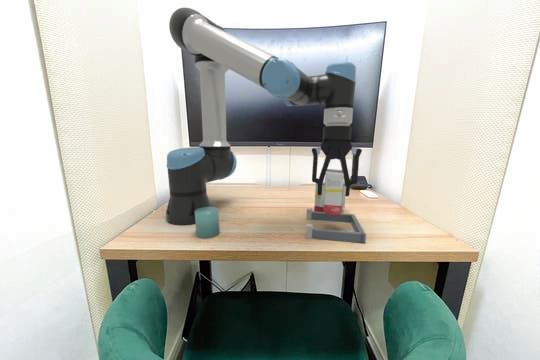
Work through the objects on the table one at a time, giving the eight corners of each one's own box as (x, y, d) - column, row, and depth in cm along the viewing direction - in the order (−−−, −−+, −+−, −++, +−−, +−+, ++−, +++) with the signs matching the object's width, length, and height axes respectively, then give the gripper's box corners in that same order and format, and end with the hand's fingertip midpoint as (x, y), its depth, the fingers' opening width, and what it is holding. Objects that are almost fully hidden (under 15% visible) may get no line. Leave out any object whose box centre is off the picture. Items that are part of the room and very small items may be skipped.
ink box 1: (335, 217, 74) (338, 184, 71) (313, 211, 79) (314, 180, 76) (343, 210, 80) (346, 180, 78) (322, 206, 85) (324, 177, 83)
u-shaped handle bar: (305, 238, 58) (306, 226, 57) (306, 217, 73) (306, 207, 72) (365, 243, 55) (366, 231, 55) (353, 221, 70) (354, 210, 70)
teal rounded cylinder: (191, 237, 58) (190, 213, 57) (203, 227, 64) (201, 206, 63) (213, 239, 57) (212, 215, 56) (222, 229, 63) (221, 207, 62)
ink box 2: (341, 215, 58) (344, 173, 56) (323, 214, 60) (325, 172, 57) (339, 206, 66) (342, 169, 64) (323, 204, 68) (325, 168, 65)
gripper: (303, 125, 56) (300, 208, 61) (376, 124, 53) (368, 212, 58) (304, 126, 63) (301, 200, 68) (368, 125, 60) (361, 203, 65)
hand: (332, 205), depth 63 cm, fingers closed on ink box 2, 5 cm apart
